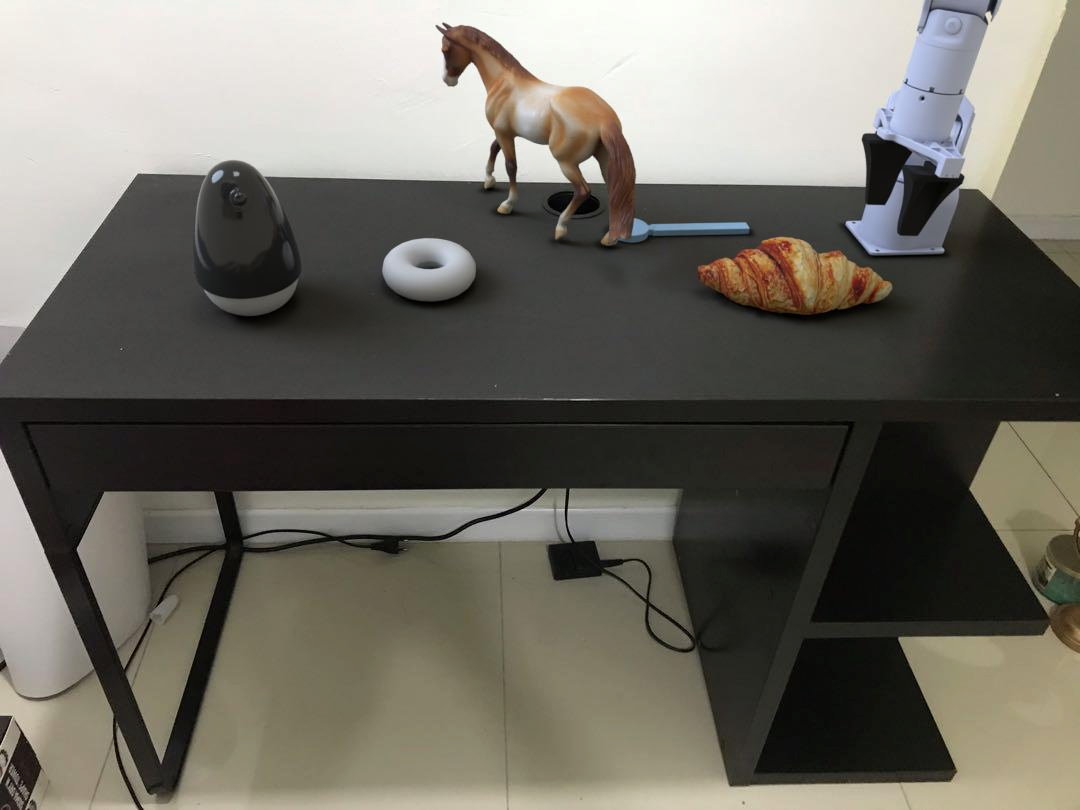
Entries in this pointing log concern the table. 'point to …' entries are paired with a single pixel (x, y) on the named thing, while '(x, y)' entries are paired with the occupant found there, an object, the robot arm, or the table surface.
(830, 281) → the croissant
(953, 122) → the robot arm
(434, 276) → the donut
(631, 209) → the horse figurine
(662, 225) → the spoon
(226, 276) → the pump dispenser
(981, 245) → the table surface
